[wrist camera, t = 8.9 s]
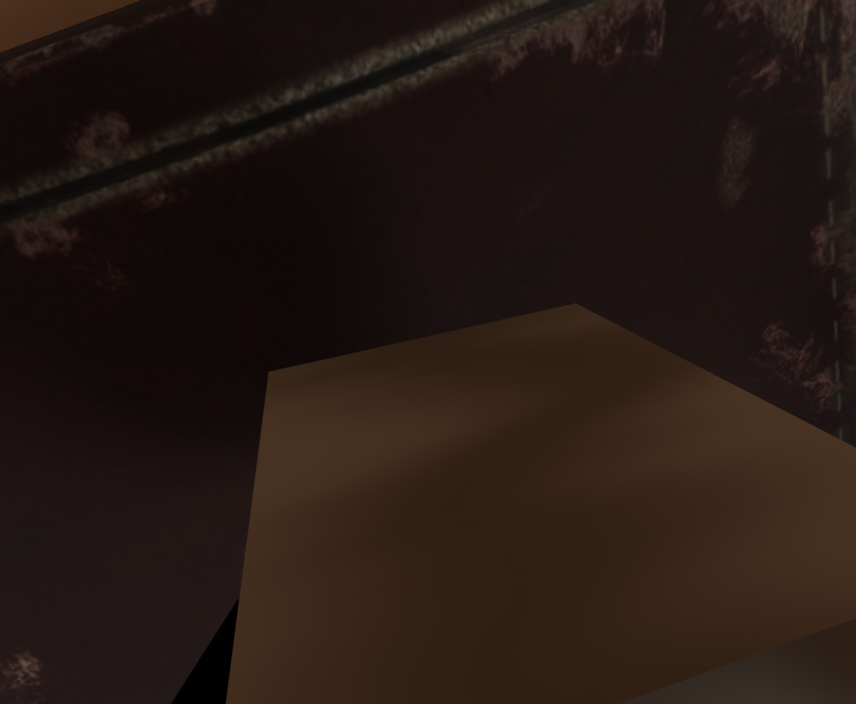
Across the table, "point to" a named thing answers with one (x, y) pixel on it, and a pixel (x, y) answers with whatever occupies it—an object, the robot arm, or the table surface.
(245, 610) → the metal block
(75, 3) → the table surface
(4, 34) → the table surface
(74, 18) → the table surface
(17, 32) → the table surface
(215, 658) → the robot arm
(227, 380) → the diary
